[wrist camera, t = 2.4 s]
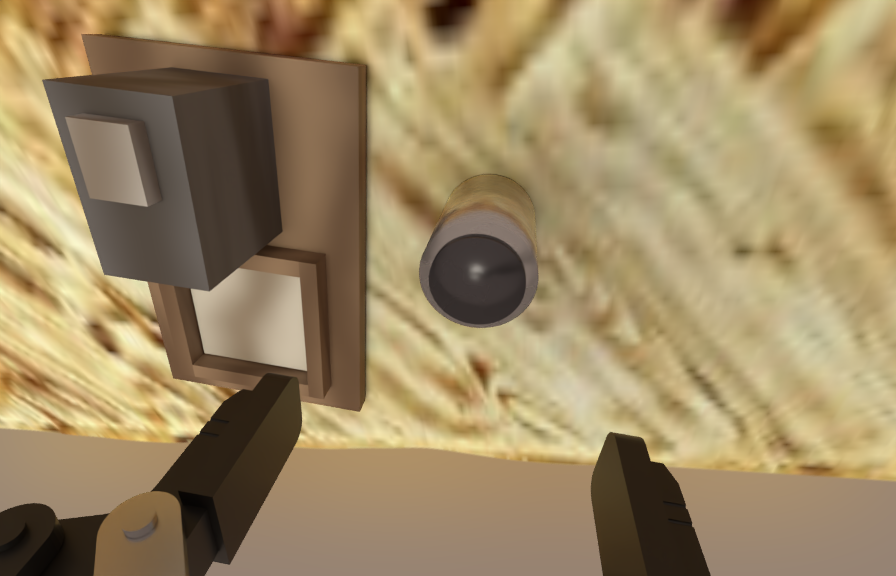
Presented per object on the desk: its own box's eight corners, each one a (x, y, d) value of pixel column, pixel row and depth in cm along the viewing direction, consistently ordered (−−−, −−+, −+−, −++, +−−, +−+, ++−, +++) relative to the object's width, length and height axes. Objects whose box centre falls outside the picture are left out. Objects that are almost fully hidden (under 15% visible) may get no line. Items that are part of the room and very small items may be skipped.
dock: (366, 65, 22) (281, 82, 15) (364, 399, 33) (316, 511, 25) (100, 34, 23) (-109, 35, 16) (183, 367, 34) (84, 465, 27)
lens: (543, 180, 24) (550, 236, 17) (526, 266, 26) (526, 342, 20) (448, 168, 24) (420, 218, 18) (440, 253, 27) (413, 324, 20)
